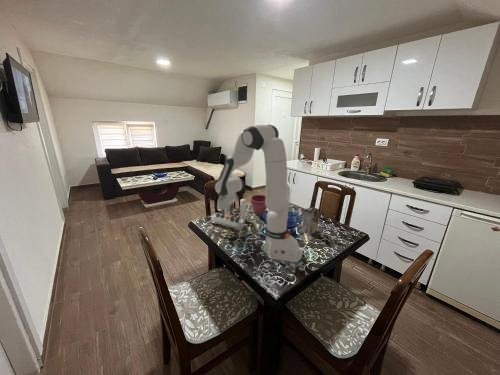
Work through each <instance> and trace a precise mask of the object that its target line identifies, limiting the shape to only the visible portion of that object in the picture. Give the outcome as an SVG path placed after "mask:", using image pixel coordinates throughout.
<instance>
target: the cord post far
mask: <svg viewBox="0 0 500 375" xmlns="http://www.w3.org/2000/svg"><path fill="white" fill-rule="evenodd" d="M230 210H231V209H230ZM230 210H229V211H228V212H225V209H224V210H223V211H224V214H225V215H230V216H231V211H230Z"/></svg>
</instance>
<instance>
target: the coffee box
mask: <svg viewBox="0 0 500 375" xmlns="http://www.w3.org/2000/svg"><path fill="white" fill-rule="evenodd" d="M319 217H320V208H317V207H313V206H309V207H308V208H306V209H303V216H302V224H301V225H302V226H301V232H302V233H304V234H307V235H308V236H310V235H312V234H314V233H315V232H317V231H318V224H319Z"/></svg>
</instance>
